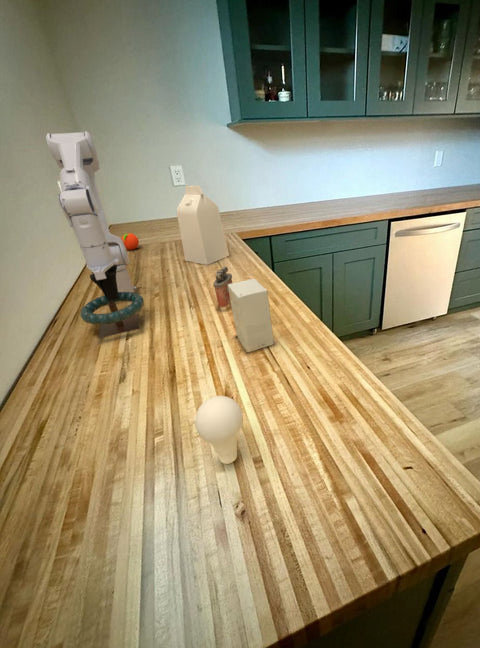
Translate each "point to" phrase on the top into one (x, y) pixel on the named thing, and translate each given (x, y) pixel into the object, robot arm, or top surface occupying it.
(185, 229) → the milk
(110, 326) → the stand
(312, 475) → the top surface
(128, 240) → the clementine
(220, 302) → the lighter
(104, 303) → the ring
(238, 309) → the small box
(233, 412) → the lightbulb
